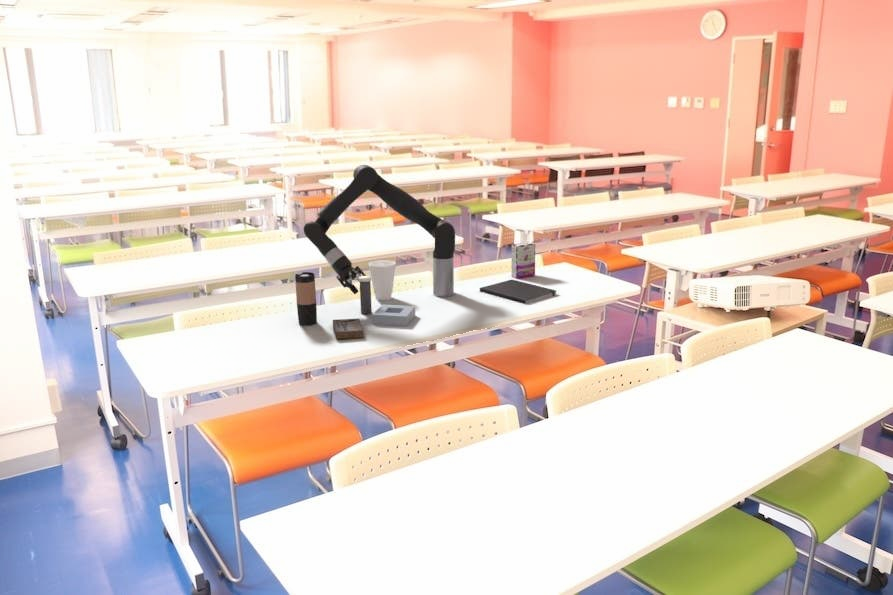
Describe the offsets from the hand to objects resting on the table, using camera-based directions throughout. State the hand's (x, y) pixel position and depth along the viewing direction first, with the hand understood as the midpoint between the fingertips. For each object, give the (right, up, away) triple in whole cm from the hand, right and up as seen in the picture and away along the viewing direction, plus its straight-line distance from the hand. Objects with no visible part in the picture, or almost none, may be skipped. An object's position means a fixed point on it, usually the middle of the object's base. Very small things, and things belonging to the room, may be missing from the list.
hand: (362, 290), depth 304 cm
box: (-3, -17, -21) cm, 27 cm away
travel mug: (-21, -13, -10) cm, 27 cm away
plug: (+1, -9, +2) cm, 10 cm away
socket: (+14, -12, -7) cm, 20 cm away
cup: (+7, -4, +23) cm, 24 cm away
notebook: (+67, -2, +29) cm, 73 cm away
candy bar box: (+72, +7, +58) cm, 93 cm away
